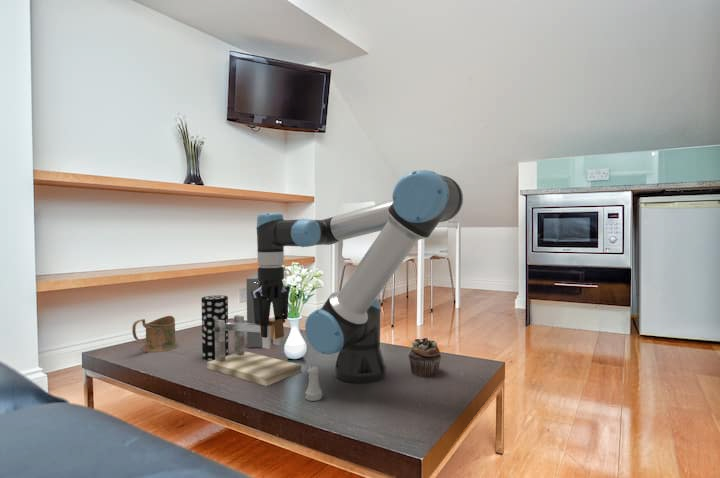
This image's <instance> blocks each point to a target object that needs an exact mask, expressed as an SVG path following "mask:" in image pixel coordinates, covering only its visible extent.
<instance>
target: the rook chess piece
mask: <svg viewBox="0 0 720 478" xmlns="http://www.w3.org/2000/svg"><path fill="white" fill-rule="evenodd" d="M320 371H321V369H320V368H319V365H317V364H316V365H314V364H312V365H309V366H308V369H307V370H306V372H307V373H308V376H307V377H308V384H307V388H306V390H305V392H304V394H305V396H304V397H305V399H306V401H309V402H317V401H320V400H321V399H322V398H323V396H324V395H323V390H322V389H321V387H320V381H319V379H320V374H319V373H320Z"/></svg>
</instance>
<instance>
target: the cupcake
mask: <svg viewBox="0 0 720 478" xmlns="http://www.w3.org/2000/svg"><path fill="white" fill-rule="evenodd" d="M411 343H412V347H411V350H410V352H409V353H408V360H409V365H410V373H411V374H413V375H415V376H418V377H424V378H425V377H434V376H437V375H438V374H439V369H440V364H441V361H442V360H441V359H442V357H441V354H440V349H439V347H438V342H437V341H435V340H430V339H428V338H427V337H424V338H422V339H421V338H417V339H414V340H413V342H411Z"/></svg>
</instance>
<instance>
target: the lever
mask: <svg viewBox="0 0 720 478" xmlns="http://www.w3.org/2000/svg"><path fill="white" fill-rule="evenodd" d="M268 326H271V340H273V339H277V338H280V337H282V338H283V337H285V333H284V332H285V331H284V330H285V329H284V323H283V319H275V318H269V324H268ZM225 331H228V332H229V331H233V332H234V331H244V333H245V332H246V333H247V332H260V333H261V326H260V325H256V324H255V323H247V322H244V323H242V322H234V321H228V323H225ZM261 338H262V337H261Z"/></svg>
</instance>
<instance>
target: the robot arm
mask: <svg viewBox="0 0 720 478" xmlns="http://www.w3.org/2000/svg"><path fill="white" fill-rule="evenodd" d="M391 196H392V200H387V201H384V202H380V203H377V204H373V205H370V206H366V207H362V208H360V209H356V210H352V211H349V212H346V213H342V214H339V215H334V216H331V217H328V218H324V219H308V218H300V219H299V218H298V219H287V220H286V219H284V215H283V214H282V213H279V212H274V213H273V212H271V213H270V212H269V213H265V212H263V213H260V214H257V219H256V226H255V228H256V237H257V238H256V243H257V245H256V246H257V252H256V253H257V266H258V268H257V275H258V280H259V281H260V284H259V287H258V289H257V290H256V291H252V292H251V295H252V297H253V305H254V320H255V324H256V325H260V326H261V337H262V345H263V347H262V348H263V349H267V350H271V349H272V344H273V345H275V346H282V344H283V343H282V341H283V339H282V338H283V337H280V338H277V339H271V326H268V324H269V319H270V315H271V305H272V310H273V315H274V316H273V317H274V319H283V324H284V323H286V320H287V319H288V318H289V294H290V289H291V286H288V285H284V282H283V280H284V279H285V268H284V265H285V257H284V256H285V255H284V252H285V250H284V249H285V248H284V247H301V248H305V247H306V248H307V247H314V246H319V245H320V246H323V245H325V246H327V245H328V246H329V245H335V244H337V243H338V242H340V241H344V240H349V239H352V238H358V237H361V236H365V235H369V234H374V233H377V232H379V233H378V235H377V237H375V239H374V241H373V242H372V244H371V245H370V247H369V248H368V250H367V251H366V252H365V254H364V256H363V257H362V258H361V260H360V262H359V263H358V264H357V266H356V267H355V269H354V270H353V272H352V273H351V274H350V276H349V277H348V279H347V280H346V282H345V284H343V286H342V288H341V289H340V291H334V292H332V293H331V294H330V295H329V297H328V298H327V299H326V301H325V302H324V304H323V305H322V307H321V308H320V309H315V310H314V311H312V312H311V313H310V314H309V315H308V317H307V318H306V321H305V325H304V328H305V329H304V330H305V332H306V339H307V341H308V343H309V344H310V346H311V347H312V348H313V349H314V350H315V351H316V352H318V353H320V354H323V355H332V354H333V355H334V354H336V353H338V355H337V359H336V362H335V365H334V376H335V377H336V378H337V379H339V380H341V381H344V382H347V383H358V384H361V383H365V384H366V383H373V382H377V381H380V380H382V379H384V378H385V377H386V376H387V365H386V362H385V359H384V356H383V353H382V349H381V311H382V310H381V305H380V304H381V303H380V300H379V298H378V296H379V295H380V294H381V293H382V291H383V290H384V288H385V287H386V286H387V283H389V281H390V279H391V278H392V277H393V276H394V274H395V273H396V271H397V270H398V269H399V267H400V266H401V264H402V263H403V262H404V260H406V258H407V256H408V254H410V252H411V251H412V250H413V248H414V247H415V245H416V244H417V242H419V241H420V240H426V239H428V238H429V237H430V236H431V234H432V233H433V232H434V230H435V229H436V227H437V226H438V225H439V223H444V222H447V221H451V219H454V217H455V216H457V215H458V214H459V212H460V211H461V209H462V207H463V203H464V196H463V191H462V188H461V186H460V185H459V184H458V182H456V181H455V180H454V179H453V178H451V177H449V176H446V175H442V174H439V173H438V172H437V173H436V172H435V171H431V170H414V171H411V172H410V171H409V172H408V173H406V174H405V175H403V176H402V177H401V178H400V179H399V180H398V181H397V183H396V184H395V186H394V188H393V191H392V195H391ZM272 340H273V341H272Z"/></svg>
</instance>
